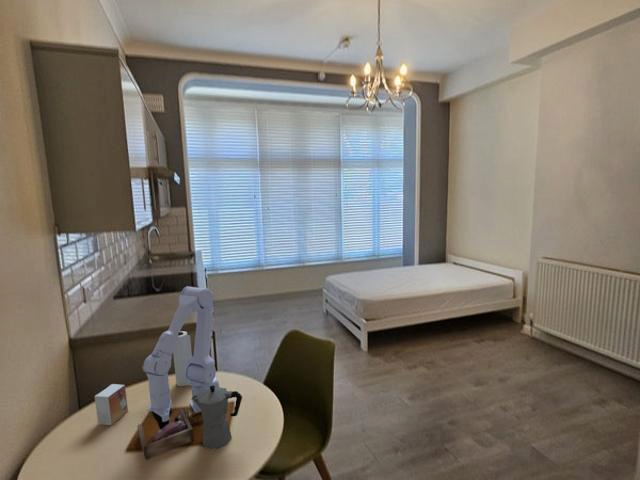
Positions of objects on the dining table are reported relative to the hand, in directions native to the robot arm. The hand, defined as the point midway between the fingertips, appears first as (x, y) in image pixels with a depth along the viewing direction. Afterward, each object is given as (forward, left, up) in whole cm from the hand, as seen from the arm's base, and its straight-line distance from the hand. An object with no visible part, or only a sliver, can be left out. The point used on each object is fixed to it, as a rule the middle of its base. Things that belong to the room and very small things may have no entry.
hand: (164, 430), depth 114 cm
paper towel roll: (-13, -28, -2) cm, 31 cm away
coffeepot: (-14, +14, -2) cm, 20 cm away
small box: (+13, -20, -2) cm, 24 cm away
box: (0, +3, -1) cm, 3 cm away
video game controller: (-1, +4, -2) cm, 4 cm away
